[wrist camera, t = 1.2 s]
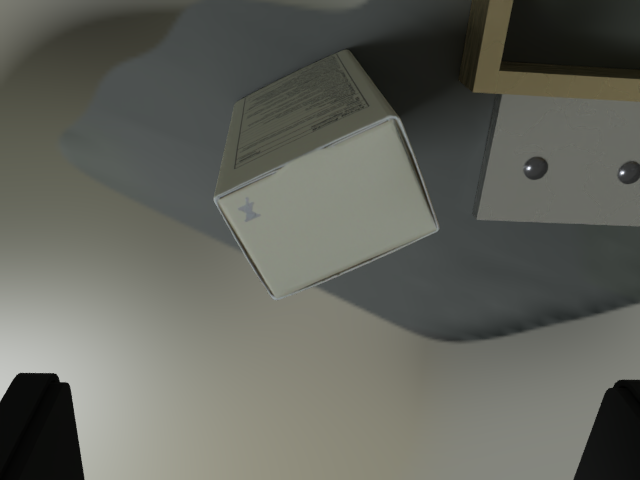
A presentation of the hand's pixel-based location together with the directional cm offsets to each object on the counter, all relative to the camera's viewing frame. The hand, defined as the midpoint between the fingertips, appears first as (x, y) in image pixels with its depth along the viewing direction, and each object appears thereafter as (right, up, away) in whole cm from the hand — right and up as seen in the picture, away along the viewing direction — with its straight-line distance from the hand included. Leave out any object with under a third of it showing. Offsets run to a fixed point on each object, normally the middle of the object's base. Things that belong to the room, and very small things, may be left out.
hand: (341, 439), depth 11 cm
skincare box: (-1, +10, +19) cm, 21 cm away
